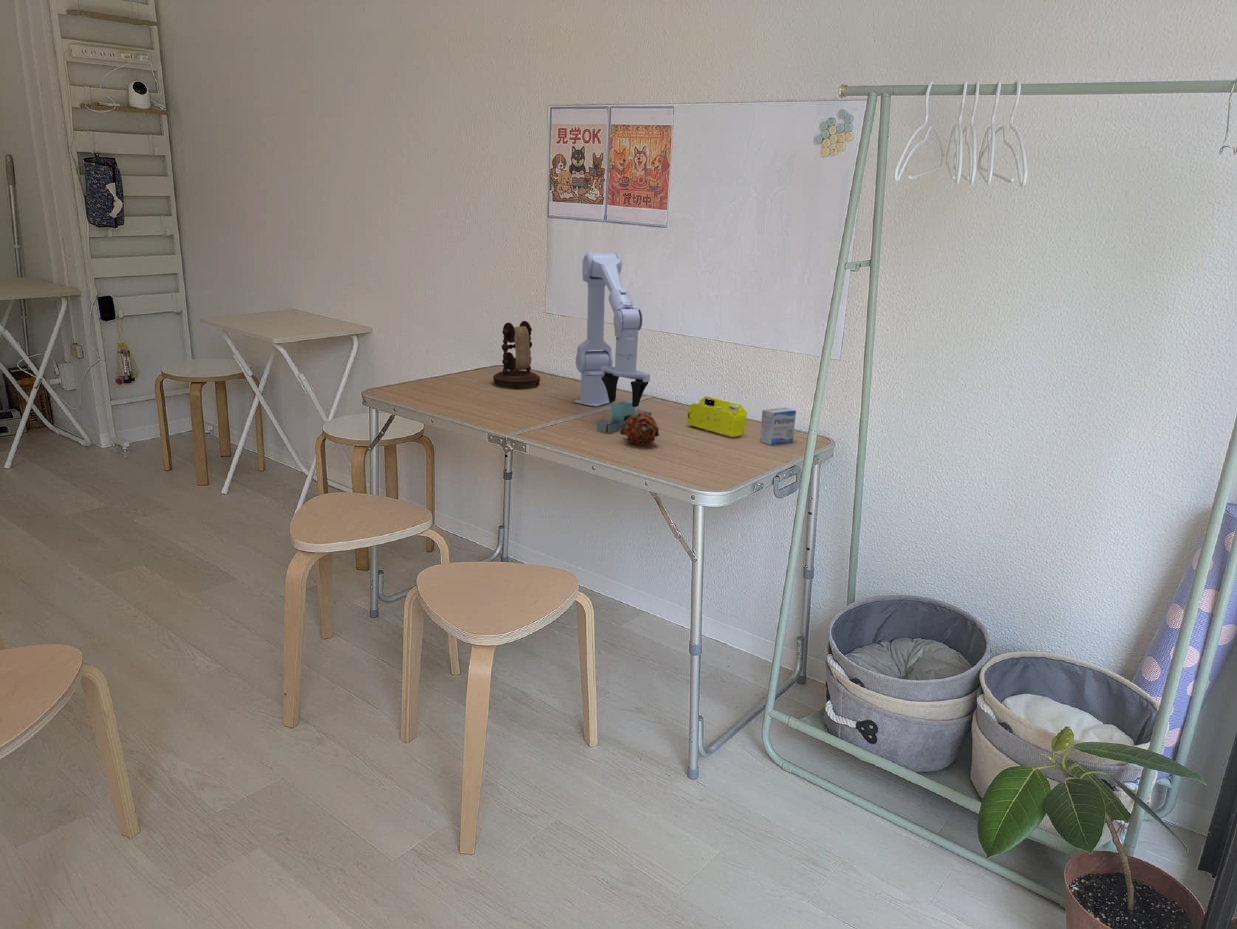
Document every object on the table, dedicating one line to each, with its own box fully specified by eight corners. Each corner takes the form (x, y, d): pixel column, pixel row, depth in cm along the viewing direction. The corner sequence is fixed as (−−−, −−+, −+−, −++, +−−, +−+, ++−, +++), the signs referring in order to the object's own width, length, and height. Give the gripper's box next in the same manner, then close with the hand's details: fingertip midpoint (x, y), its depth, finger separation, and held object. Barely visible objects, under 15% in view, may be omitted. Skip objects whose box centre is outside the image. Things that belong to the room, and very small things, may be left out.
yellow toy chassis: (745, 436, 244) (748, 406, 242) (732, 440, 240) (734, 409, 238) (699, 424, 255) (701, 394, 252) (686, 427, 251) (688, 397, 248)
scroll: (513, 391, 282) (514, 326, 276) (483, 383, 291) (483, 320, 285) (549, 385, 292) (550, 323, 286) (519, 377, 302) (520, 316, 296)
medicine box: (770, 445, 236) (773, 413, 233) (759, 441, 240) (762, 409, 237) (793, 442, 240) (796, 410, 237) (781, 438, 244) (785, 406, 241)
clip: (625, 421, 253) (626, 400, 251) (634, 423, 251) (635, 402, 249) (610, 426, 247) (611, 404, 245) (620, 428, 246) (621, 406, 244)
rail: (638, 417, 258) (638, 409, 257) (650, 420, 256) (651, 412, 255) (596, 431, 242) (597, 422, 241) (609, 433, 240) (610, 425, 239)
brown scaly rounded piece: (651, 456, 227) (625, 450, 238) (673, 433, 230) (647, 429, 240) (633, 431, 224) (607, 426, 234) (656, 408, 226) (630, 404, 236)
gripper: (595, 352, 244) (593, 401, 248) (640, 360, 237) (638, 411, 241) (610, 348, 250) (608, 397, 254) (655, 356, 242) (652, 406, 246)
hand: (623, 403), depth 248 cm, fingers open, 7 cm apart
